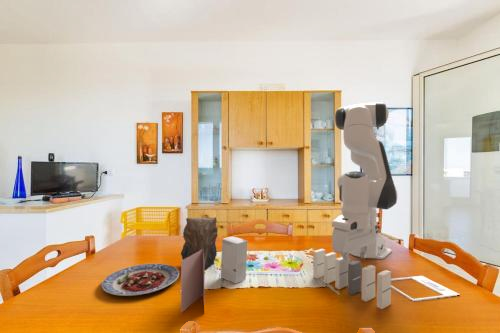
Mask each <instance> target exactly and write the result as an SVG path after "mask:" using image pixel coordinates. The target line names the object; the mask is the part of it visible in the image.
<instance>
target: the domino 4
mask: <svg viewBox="0 0 500 333" xmlns="http://www.w3.org/2000/svg"><path fill="white" fill-rule="evenodd" d="M360 292H362V261H360V260H354V261H351V264H349V265H348V286H347V293H348V294H349V295H351V296H354V295H355V294H358V293H360Z"/></svg>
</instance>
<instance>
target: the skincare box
mask: <svg viewBox="0 0 500 333" xmlns="http://www.w3.org/2000/svg"><path fill="white" fill-rule="evenodd" d="M221 241H222V242H221V259H220V260H221V263H220V278H222V279H223V280H227V281H229V282H231V283H233V284H238V283H239V282H242V281H245V280H246V279H247V278H246V277H247V256H248V240H247V239H246V240H245V239H243V238H240V237H237V236H228V237H223V238H222V240H221Z"/></svg>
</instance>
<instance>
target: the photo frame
mask: <svg viewBox="0 0 500 333" xmlns="http://www.w3.org/2000/svg"><path fill="white" fill-rule="evenodd" d="M405 280H413V281H414V282H416V283H418V284H420V285H422V286H424V287H426V288H428V289H430V290H431V291H433V292H435V293H438V294H439V295H435V296H427V297H417V298H413V297H411V296H410V295H408V294H407V293H405V292H403V291H401V290H400V289H398V288H396V287H395V286H393V285H392V284H391V290H394V291H396V292H397V293H399V294H400V295H402V296H404V298H407V299H408V300H410V301H411V300H412V301H411V302H413V303H415V302H423V301H431V300H437V298H440V299H445V298H444V297H448V298H452V297H451V296H456V297H458V296H457V295H460V293H458V292H456V291H454V290H452V289H450V288H448V287H446V286H444V285H442V284H440V283H438V282H435V281H434V280H431V279H429V278H428V277H425V276H424V275H418V276H417V275H416V276H407V277H397V278H391V282H396V281H405ZM422 300H423V301H422ZM414 301H415V302H414Z"/></svg>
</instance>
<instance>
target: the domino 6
mask: <svg viewBox="0 0 500 333" xmlns="http://www.w3.org/2000/svg"><path fill="white" fill-rule="evenodd" d="M391 279H392V272H391V271H389V270H386V269H385V270H383V271H380V272H378V273H377V274H376V307H377V308H379V309H382V310H383V309H385V308H387V307H389V306H390V305H391V304H392V303H391V302H392V301H391V300H392V299H391V298H392V288H391V285H392V281H391Z"/></svg>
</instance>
